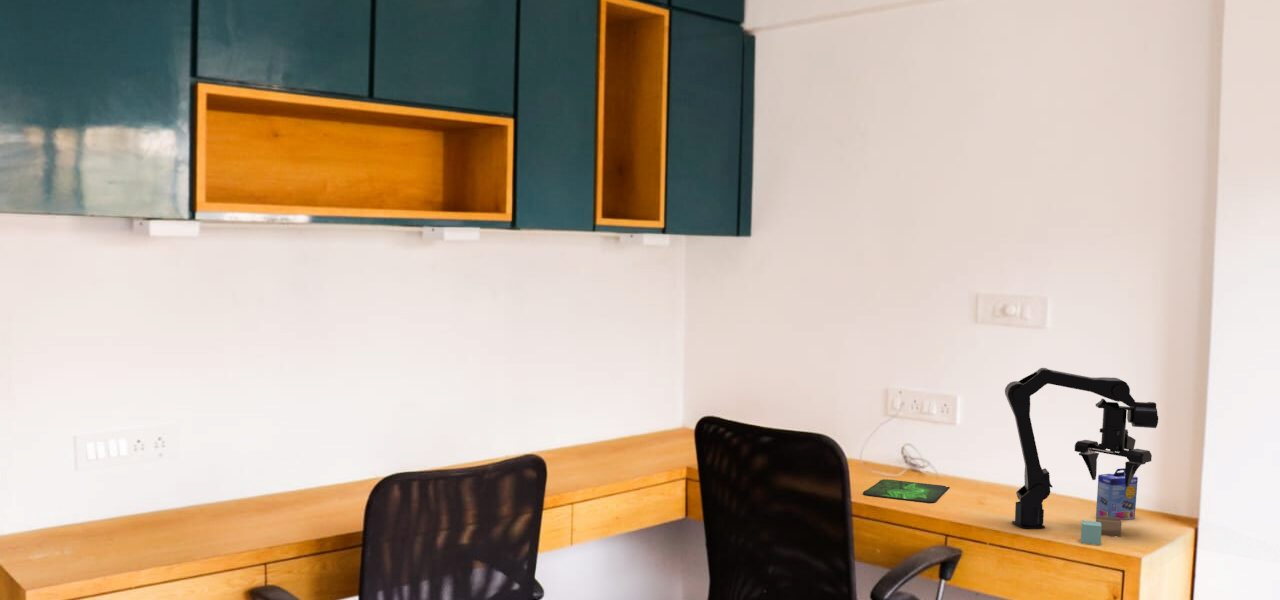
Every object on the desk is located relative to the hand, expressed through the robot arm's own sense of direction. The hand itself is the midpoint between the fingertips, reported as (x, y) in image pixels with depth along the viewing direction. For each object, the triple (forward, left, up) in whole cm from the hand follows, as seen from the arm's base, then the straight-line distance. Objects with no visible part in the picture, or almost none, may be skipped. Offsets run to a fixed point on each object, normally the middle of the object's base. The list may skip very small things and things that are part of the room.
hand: (1110, 483), depth 294 cm
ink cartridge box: (+11, +13, -13) cm, 22 cm away
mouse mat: (-35, +51, -14) cm, 64 cm away
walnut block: (-1, -2, -13) cm, 13 cm away
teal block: (-11, -10, -13) cm, 20 cm away
